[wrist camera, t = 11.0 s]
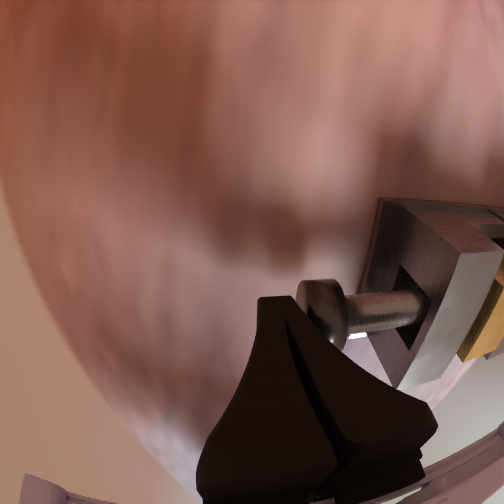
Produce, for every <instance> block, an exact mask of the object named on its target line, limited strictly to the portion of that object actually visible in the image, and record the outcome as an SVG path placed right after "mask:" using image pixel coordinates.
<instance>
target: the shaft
mask: <svg viewBox="0 0 504 504" xmlns="http://www.w3.org/2000/svg"><path fill="white" fill-rule="evenodd" d="M296 303H297V304H298V305H299V307H300V308H301V309H302V310H303V312H304V313H305V314H306V315H307V316H308V318H309V319H310V320H311V321H312V322H313V323H314V324H315V326H316V327H317V328H318V329H319V330H320V331H321V332H322V333H323V334H324V335H325V336H326V337H327V338H328V339H329V340H330V341H331V342H332V343H333V344H334V345H335V346H336V347H337V348H338V349H339V350H340V351H342V350H343V348H344V346H345V343H346V339H347V335H350V334H357V333H364V332H371V331H378V330H384V329H390V328H396V327H402V326H407V325H413V324H418V323H423V322H424V320H425V317H426V315H427V313H428V311H429V308H430V306H431V304H432V301H431V299H430V298H429V297H428V296H427V295H426V293H425V292H424V291H423V290H422V289H421V288H414V289H405V290H396V291H387V292H377V293H366V294H356V295H344V293H343V290H342V288H341V286H340V284H339V283H338V282H337V281H336V280H335V279H321V280H303V281H301V282H300V284H299V286H298V289H297V294H296Z"/></svg>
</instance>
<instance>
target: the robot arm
mask: <svg viewBox="0 0 504 504" xmlns="http://www.w3.org/2000/svg"><path fill="white" fill-rule="evenodd" d="M437 428H438V424H437V422H436V419H435V417H434V415H433V413H432V411H431V409H430V408H429V406H428V404H427V403H426V402H424V401H422V400H419V399H417V398H414V397H412V396H410V395H408V394H405V393H403V392H401V391H399V390H397V389H395V388H393V387H392V386H390V385H388V384H386V383H384V382H383V381H381V380H379V379H378V378H376V377H375V376H373V375H372V374H370V373H369V372H367V371H365V370H364V369H363V368H361V367H360V366H358V365H357V364H356V363H354V362H353V361H352V360H351V359H349V358H348V357H347V356H346V355H345V354H344V353H342V352H341V351H340V350H339V349H338V348H337V347H336V346H335V345H334V344H333V343H332V342H331V341H330V340H329V339H328V338H327V337H326V336H325V335H324V334H323V333H322V332H321V331H320V330H319V329H318V328H317V327H316V326H315V324H314V323H313V322H312V321H311V320H310V319H309V318H308V316H307V315H306V314H305V313H304V312H303V310H302V309H301V308H300V307H299V305H298V304H297V303H296V301H295V300H294V299H293V298H292V297H291V296H290V295H289V296H272V297H260V298H259V299H258V302H257V330H256V336H255V340H254V344H253V348H252V351H251V355H250V358H249V361H248V363H247V366H246V369H245V371H244V374H243V376H242V379H241V381H240V383H239V385H238V388H237V390H236V392H235V394H234V396H233V398H232V400H231V401H230V403H229V405H228V407H227V409H226V410H225V412H224V414H223V416H222V417H221V419H220V420H219V422H218V423H217V425H216V426H215V428H214V429H213V431H212V432H211V434H210V435H209V437H208V438H207V440H206V443H205V446H204V448H203V451H202V453H201V456H200V459H199V462H198V465H197V470H196V487H197V491H198V493H199V494H200V496H201V497H202V499H203V504H380V503H383V502H386V501H389V500H392V499H394V498H396V497H399V496H402V495H404V494H407V493H409V492H411V491H414V490H416V489H418V488H421V487H422V488H421V490H420V491H418V492H416V493H414V494H412V495H410V496H407V497H405V498H404V499H403V500H401V501H400V502H398V503H396V504H482V503H483V502H484V501H485V500H487V499H488V498H489V497H490V496H492V495H493V494H494V493H495V492H496V491H498V490H499V489H500V488H501V487H502V486H503V485H504V422H502V423H501V424H500V426H498V428H497V429H495V430H494V431H492V432H491V433H489V434H488V435H486V436H484V437H483V438H481V439H479V440H478V441H476V442H475V443H472V444H471V445H469V446H467V447H466V448H464V449H462V450H460V451H458V452H456V453H454V454H452V455H450V456H448V457H446V458H444V459H442V460H440V461H438V462H436V463H434V464H432V465H429V466H427V467H425V468H423V467H422V465H421V462H420V460H419V459H421V458H422V456H423V455H422V453H421V450H420V448H421V447H422V446H423V445H424V444H425V443H426V442H427V441H428V440H429V439H430V438H431V437H432V436H433V435H434V434H435V432H436V430H437ZM19 504H117V503H112V502H107V501H102V500H97V499H93V498H89V497H85V496H82V495H78V494H74V493H71V492H67V491H66V490H65V489H64V488H62V487H60V486H59V485H56V484H54V483H52V482H49V481H47V480H43V479H41V478H38V477H35V476H33V475H30V474H28V473H26V474H24V479H23V483H22V488H21V493H20V499H19Z"/></svg>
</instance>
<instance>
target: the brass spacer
mask: <svg viewBox="0 0 504 504" xmlns="http://www.w3.org/2000/svg"><path fill="white" fill-rule="evenodd" d="M503 337H504V256H503V258H502V261H501V263H500V266H499V269H498V271H497V273H496V276H495V278H494V281H493V283H492V285H491V287H490V290H489V292H488V294H487V296H486V298H485V301H484V303H483V305H482V307H481V309H480V311H479V313H478V315H477V317H476V319H475V321H474V322H473V324H472V326H471V328H470V330H469V332H468V334H467V335H466V337H465V339H464V341H463V342H462V344H461V346H460V347H459V349H458V351H457V352H456V354H457V355H458V357H459V358H460V360H461V361H462V363H464V362H466V361H469V360H472V359H474V358H477V357H479V356H482V355H484V354H487V353H489V352H492V351H494V350H496V348H497V347H498V345H499V343H500V342H501V340H502V339H503Z"/></svg>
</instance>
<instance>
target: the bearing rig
mask: <svg viewBox="0 0 504 504" xmlns="http://www.w3.org/2000/svg"><path fill="white" fill-rule="evenodd" d="M503 256H504V208H498V207H490V206H481V205H471V204H461V203H450V202H438V201H425V200H410V199H393V198H379V202H378V208H377V213H376V219H375V224H374V229H373V234H372V238H371V243H370V248H369V252H368V257H367V261H366V265H365V269H364V273H363V277H362V281H361V285H360V289H359V293H358V294H366V293H377V292H387V291H396V290H405V289H414V288H421V289H422V290H423V291H424V292H425V293H426V295H427V296H428V297H429V298H430V299H431V301H432V304H431V306H430V308H429V311H428V313H427V315H426V317H425V320H424V322H423V323H418V324H413V325H407V326H402V327H396V328H390V329H384V330H378V331H371V332H364V333H357V334H350V335H347V336H348V338H349V339H351V338H358V337H365V336H368V338H369V340H370V342H371V344H372V346H373V348H374V350H375V352H376V354H377V356H378V358H379V360H380V362H381V364H382V366H383V368H384V370H385V372H386V374H387V376H388V378H389V380H390V382H391V384H392V386H393V388H395V389H397V390H403V389H406V388H410V387H413V386H417V385H420V384H423V383H426V382H429V381H433V380H436V379H439V378H440V377H441V376H442V374H443V373H444V371H445V370H446V368H447V367H448V365H449V364H450V362H451V361H452V359H453V357H454V356H455V354H456V352H457V351H458V349H459V347H460V346H461V344H462V342H463V341H464V339H465V337H466V335H467V334H468V332H469V330H470V328H471V326H472V324H473V322H474V321H475V319H476V317H477V315H478V313H479V311H480V309H481V307H482V305H483V303H484V301H485V298H486V296H487V294H488V292H489V290H490V287H491V285H492V283H493V281H494V278H495V276H496V273H497V271H498V269H499V266H500V263H501V261H502V258H503ZM503 352H504V337H503V339H502V340H501V342H500V343H499V345H498V347H497V348H496V350H494V351H492V352H489V353H487V354H484V357H485V358H486V360H488V359H490V358H492V357H495V356H496V355H499V354H501V353H503Z"/></svg>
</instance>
